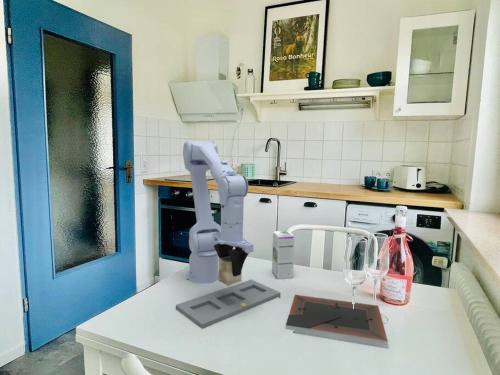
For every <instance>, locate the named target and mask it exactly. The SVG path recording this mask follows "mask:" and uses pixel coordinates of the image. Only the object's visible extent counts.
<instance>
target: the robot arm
mask: <svg viewBox="0 0 500 375" xmlns="http://www.w3.org/2000/svg"><path fill="white" fill-rule="evenodd" d="M182 156H183V158H182V159H183V165H184V169H185V170H186V171H189V174H190V181H191V187H192V195H193V201H194V210H195V218H196V223H195V224H194V225H193V226H191V228H189V232H188V234H189V235H188V236H189V237H188V245H189V250H190V251H191V253H190V255H189V258H188V259H189V260H188V262H189V263H188V276H186V279H187V280H190V281H193V282H194V283H195V284H198V285H199V286H201V287H206V286H209V285H213V284H215V283H218V282H220V281H219V259H220V258H224V257H228V256H230V257H231V261H232V273H233V276H238V275H241V271H242V272H243V267H244V264H245V262H246V259H247V257H248V256H249V254H250V253H253V252H254V243H252V242H250V241H248V240H247V239H246V238H244V204H245V203H244V202H245V201H244V200H245V198H246V197H247V195H248V192H249V182H248V179H247V177H246V175H244V174H237V173H236V171H235V170H234V169H233V168H232V166H231V165H230V164H229V162H228V161H227V160H224V159H221V157H220V155H219V148H218V144H217V143H216V141H200V140H199V141H197V140H188V139H187V140H186V141H185V142H184V144H183V147H182ZM208 171H209V173H210V175H211V177H212V178H213V180H214V181H215V183H216V185H217V193H218V197H219V198H218V199H219V200H218V203H219V204H220V206H221V208H220V210H221V212H220V213H221V215H220V224H218V223H217V222H216V221H214V220H213V215H212V207H211V199H210V193H209V187H208V186H209V185H208V179H207V172H208Z"/></svg>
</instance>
